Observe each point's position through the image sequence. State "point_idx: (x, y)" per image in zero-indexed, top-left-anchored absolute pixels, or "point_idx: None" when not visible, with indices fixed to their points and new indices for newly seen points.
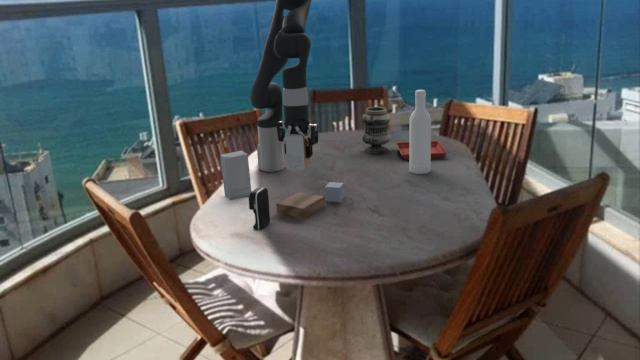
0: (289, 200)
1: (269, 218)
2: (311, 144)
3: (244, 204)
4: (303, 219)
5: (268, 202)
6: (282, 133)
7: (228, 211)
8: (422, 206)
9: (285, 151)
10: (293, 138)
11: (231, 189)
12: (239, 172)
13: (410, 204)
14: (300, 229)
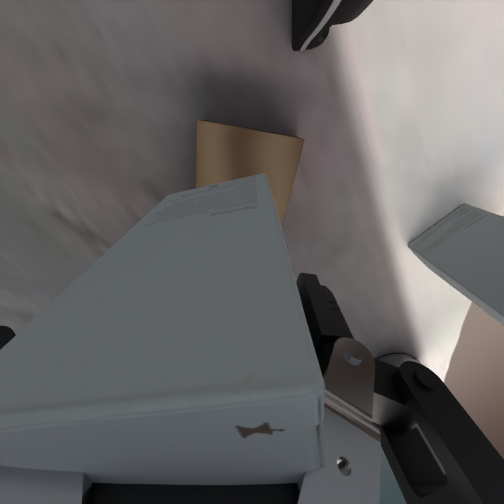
0: (273, 179)
1: (293, 39)
2: (8, 331)
3: (414, 182)
4: (205, 120)
5: (306, 14)
6: (426, 472)
7: (459, 109)
8: (29, 280)
9: (325, 295)
10: (124, 363)
11: (482, 217)
12: (497, 261)
13: (56, 284)
14: (166, 21)
